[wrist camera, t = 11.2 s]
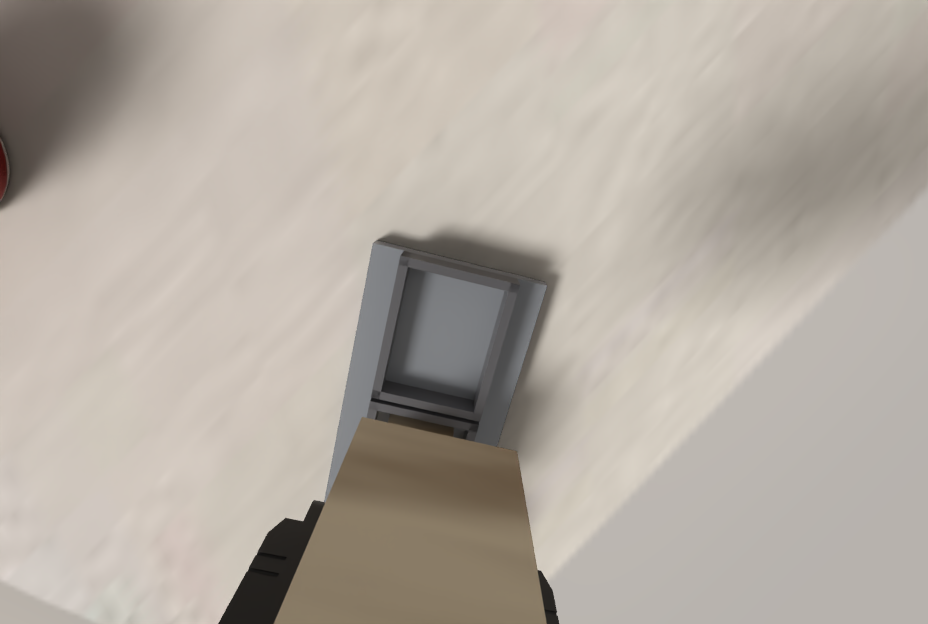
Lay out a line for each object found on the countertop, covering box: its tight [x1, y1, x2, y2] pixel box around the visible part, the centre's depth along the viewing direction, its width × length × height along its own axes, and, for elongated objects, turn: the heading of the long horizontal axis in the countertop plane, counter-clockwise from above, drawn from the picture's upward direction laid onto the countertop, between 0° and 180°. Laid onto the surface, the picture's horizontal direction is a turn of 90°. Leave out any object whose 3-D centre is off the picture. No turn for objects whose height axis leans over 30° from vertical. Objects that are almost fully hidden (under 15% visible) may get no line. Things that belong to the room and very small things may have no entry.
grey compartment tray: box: [324, 240, 547, 502], centre depth 28 cm, size 25×10×6 cm, turn 166°
